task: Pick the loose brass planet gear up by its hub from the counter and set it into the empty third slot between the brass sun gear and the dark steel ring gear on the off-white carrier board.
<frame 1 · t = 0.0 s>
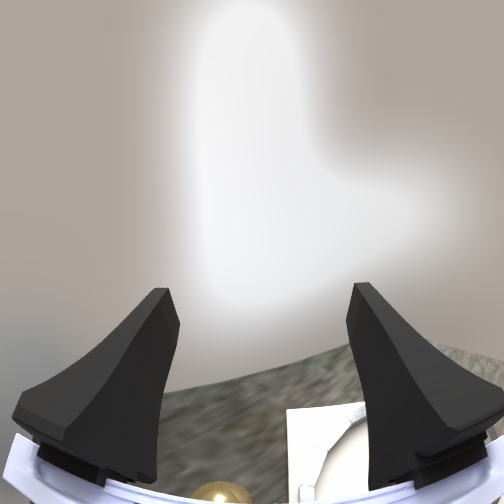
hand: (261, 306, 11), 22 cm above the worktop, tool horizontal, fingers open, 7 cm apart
ring gear: (416, 483, 15), on the carrier board, point 1 cm above the worktop
carrier board: (408, 488, 15), on the worktop
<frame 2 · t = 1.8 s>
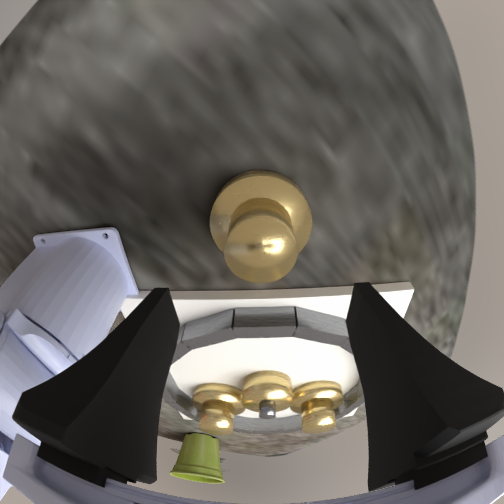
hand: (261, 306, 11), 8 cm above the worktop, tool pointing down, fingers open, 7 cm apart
plant pot: (202, 436, 41), on the worktop
ring gear: (267, 390, 25), on the carrier board, point 1 cm above the worktop
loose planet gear: (260, 215, 17), on the worktop
sun and planets: (267, 408, 25), in the ring gear, point 3 cm above the worktop
carrier board: (267, 374, 27), on the worktop
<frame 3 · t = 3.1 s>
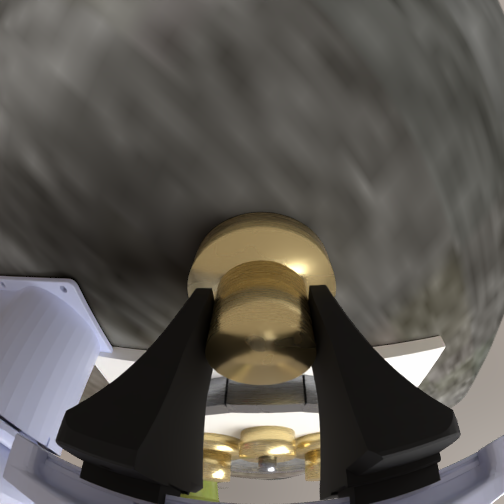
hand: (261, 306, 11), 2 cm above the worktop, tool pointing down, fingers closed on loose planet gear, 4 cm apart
plant pot: (198, 464, 36), on the worktop
ring gear: (267, 443, 20), on the carrier board, point 1 cm above the worktop
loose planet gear: (261, 274, 12), on the worktop, touching gripper
sun and planets: (267, 459, 20), in the ring gear, point 3 cm above the worktop
carrier board: (267, 425, 22), on the worktop
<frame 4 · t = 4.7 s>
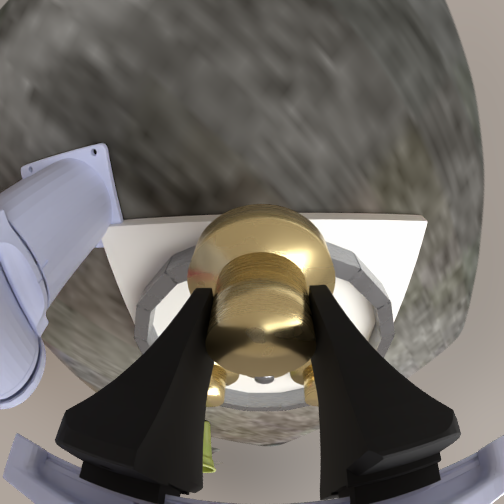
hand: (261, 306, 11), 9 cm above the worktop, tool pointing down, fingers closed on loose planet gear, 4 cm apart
plant pot: (192, 420, 39), on the worktop
ring gear: (264, 350, 23), on the carrier board, point 1 cm above the worktop
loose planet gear: (261, 266, 12), point 7 cm above the worktop, touching gripper
sun and planets: (264, 373, 23), in the ring gear, point 3 cm above the worktop
carrier board: (264, 333, 25), on the worktop
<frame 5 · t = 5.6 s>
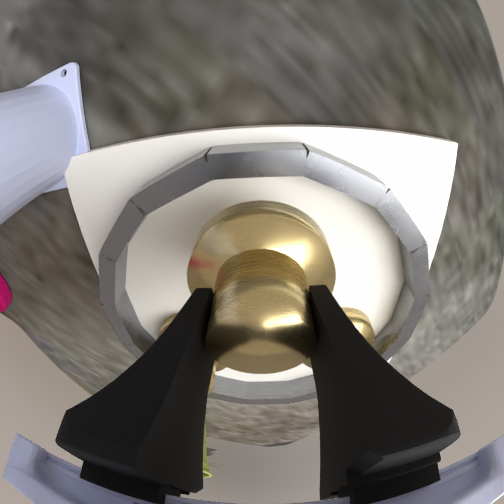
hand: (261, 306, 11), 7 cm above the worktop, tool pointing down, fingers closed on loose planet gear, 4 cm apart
ring gear: (264, 320, 18), on the carrier board, point 1 cm above the worktop
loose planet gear: (261, 262, 12), point 5 cm above the worktop, touching gripper
sun and planets: (265, 350, 18), in the ring gear, point 3 cm above the worktop
carrier board: (264, 300, 20), on the worktop
when the fingers open (4 cm above the worktop, at t = 6.4 s): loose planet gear drops 1 cm, resting on carrier board.
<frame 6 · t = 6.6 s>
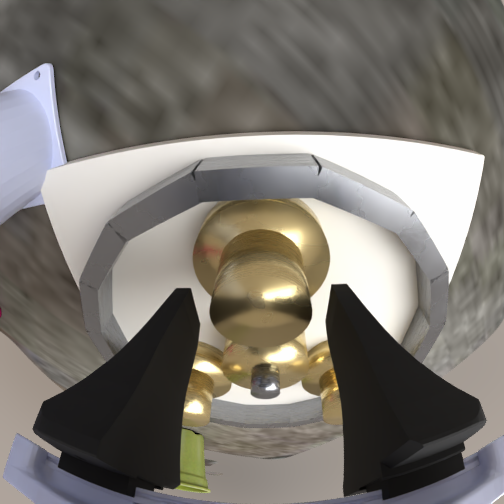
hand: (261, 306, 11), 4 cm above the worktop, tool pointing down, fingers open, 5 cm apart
plant pot: (182, 432, 32), on the worktop
ring gear: (265, 350, 16), on the carrier board, point 1 cm above the worktop
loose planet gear: (261, 247, 13), point 1 cm above the worktop, touching carrier board
sun and planets: (266, 382, 16), in the ring gear, point 3 cm above the worktop
carrier board: (265, 326, 18), on the worktop
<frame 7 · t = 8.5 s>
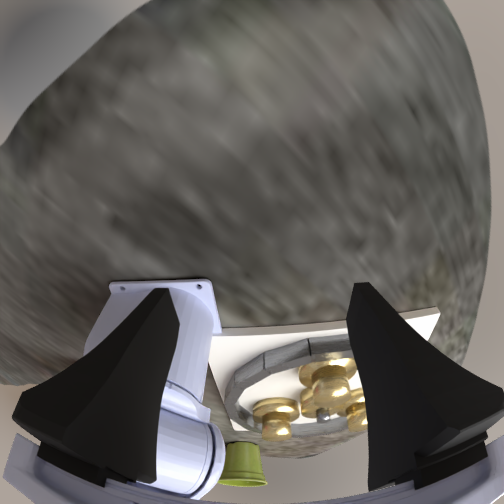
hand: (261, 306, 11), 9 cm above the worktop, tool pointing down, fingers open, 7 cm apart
plant pot: (243, 444, 44), on the worktop
ring gear: (320, 399, 29), on the carrier board, point 1 cm above the worktop
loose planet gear: (326, 362, 26), point 1 cm above the worktop, touching carrier board
sun and planets: (320, 414, 29), in the ring gear, point 3 cm above the worktop
carrier board: (318, 386, 31), on the worktop
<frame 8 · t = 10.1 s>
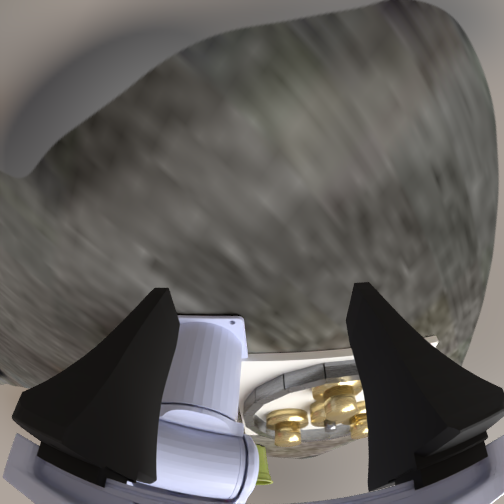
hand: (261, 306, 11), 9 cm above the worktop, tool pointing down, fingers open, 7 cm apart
plant pot: (250, 446, 47), on the worktop
ring gear: (328, 411, 31), on the carrier board, point 1 cm above the worktop
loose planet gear: (336, 381, 29), point 1 cm above the worktop, touching carrier board
sun and planets: (327, 423, 31), in the ring gear, point 3 cm above the worktop
carrier board: (326, 398, 33), on the worktop
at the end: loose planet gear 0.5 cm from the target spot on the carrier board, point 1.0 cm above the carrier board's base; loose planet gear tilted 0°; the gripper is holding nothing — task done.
